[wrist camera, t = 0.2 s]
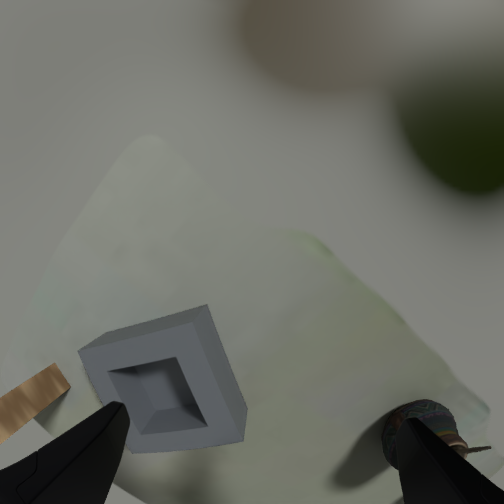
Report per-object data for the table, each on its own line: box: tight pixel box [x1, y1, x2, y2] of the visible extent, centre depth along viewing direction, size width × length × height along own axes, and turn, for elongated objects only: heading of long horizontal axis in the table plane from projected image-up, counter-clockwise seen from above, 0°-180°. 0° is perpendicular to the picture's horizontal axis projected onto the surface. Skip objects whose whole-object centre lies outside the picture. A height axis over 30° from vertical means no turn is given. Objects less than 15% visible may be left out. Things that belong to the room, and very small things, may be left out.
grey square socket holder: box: [78, 304, 248, 454], centre depth 22 cm, size 10×10×5 cm
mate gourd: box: [381, 399, 491, 470], centre depth 19 cm, size 7×8×10 cm
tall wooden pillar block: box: [0, 363, 71, 444], centre depth 19 cm, size 3×3×12 cm
